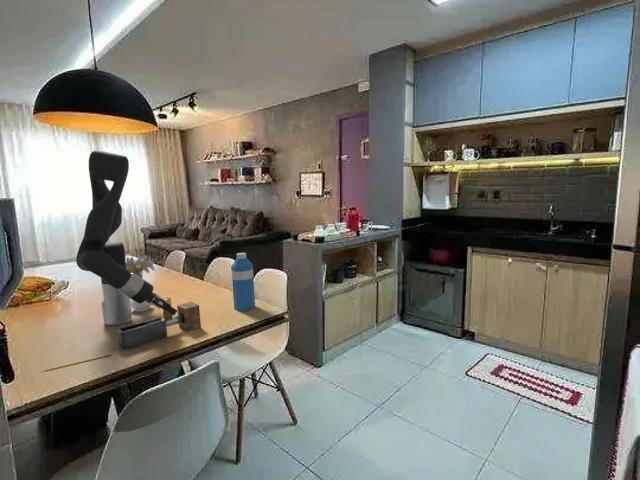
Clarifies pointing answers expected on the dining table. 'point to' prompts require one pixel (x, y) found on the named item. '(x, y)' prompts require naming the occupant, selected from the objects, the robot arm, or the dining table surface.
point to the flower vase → (138, 271)
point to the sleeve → (141, 333)
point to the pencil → (77, 363)
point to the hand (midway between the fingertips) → (173, 311)
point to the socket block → (189, 316)
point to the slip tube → (169, 318)
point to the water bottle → (243, 283)
